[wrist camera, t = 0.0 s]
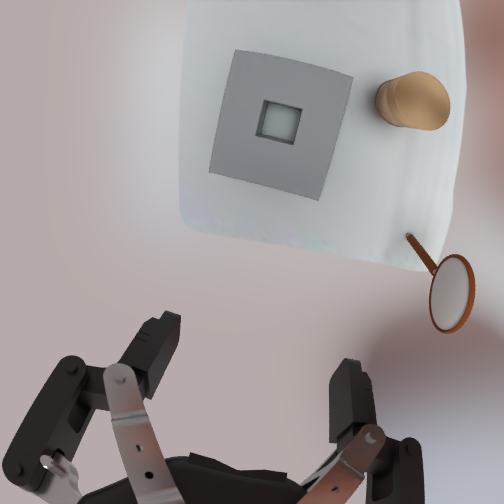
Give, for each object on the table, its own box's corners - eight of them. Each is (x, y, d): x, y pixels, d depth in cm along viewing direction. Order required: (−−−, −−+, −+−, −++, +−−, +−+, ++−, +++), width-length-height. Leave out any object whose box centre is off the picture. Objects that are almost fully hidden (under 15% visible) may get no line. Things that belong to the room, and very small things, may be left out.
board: (243, 57, 30) (235, 49, 26) (346, 82, 30) (353, 77, 26) (219, 165, 38) (208, 172, 34) (316, 190, 38) (318, 200, 33)
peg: (370, 77, 29) (404, 60, 17) (409, 94, 29) (455, 88, 17) (360, 116, 32) (391, 116, 20) (399, 131, 31) (442, 140, 20)
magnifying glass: (410, 207, 36) (478, 280, 18) (420, 210, 36) (490, 282, 18) (395, 258, 40) (440, 350, 23) (404, 260, 40) (452, 350, 22)
